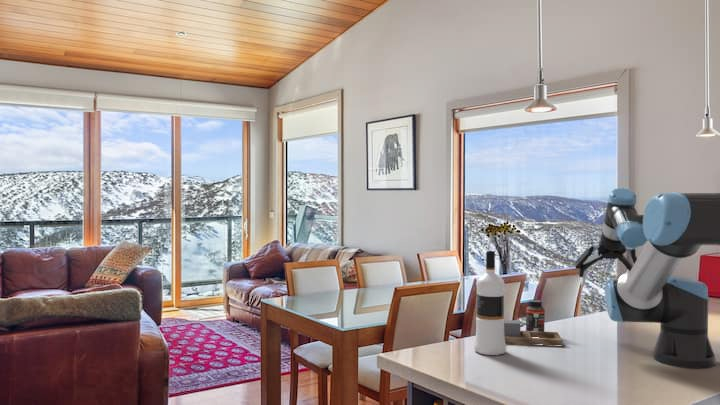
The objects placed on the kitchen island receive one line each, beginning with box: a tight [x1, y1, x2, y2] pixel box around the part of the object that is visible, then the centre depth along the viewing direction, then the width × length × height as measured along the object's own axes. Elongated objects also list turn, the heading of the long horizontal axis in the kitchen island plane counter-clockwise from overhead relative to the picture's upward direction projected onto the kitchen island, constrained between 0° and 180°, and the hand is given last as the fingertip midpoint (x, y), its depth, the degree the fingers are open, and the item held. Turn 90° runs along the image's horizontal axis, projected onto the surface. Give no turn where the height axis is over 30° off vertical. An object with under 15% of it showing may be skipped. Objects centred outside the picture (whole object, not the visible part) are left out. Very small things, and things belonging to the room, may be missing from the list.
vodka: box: [473, 250, 507, 357], centre depth 171 cm, size 9×9×30 cm
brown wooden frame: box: [505, 330, 563, 346], centre depth 184 cm, size 20×10×2 cm, turn 79°
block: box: [504, 319, 521, 337], centre depth 185 cm, size 5×5×6 cm
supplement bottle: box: [525, 299, 546, 332], centre depth 193 cm, size 6×6×11 cm
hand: (603, 285), depth 193 cm, fingers open, 13 cm apart
